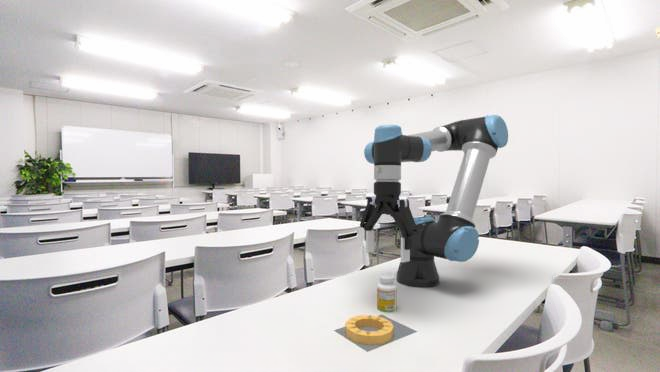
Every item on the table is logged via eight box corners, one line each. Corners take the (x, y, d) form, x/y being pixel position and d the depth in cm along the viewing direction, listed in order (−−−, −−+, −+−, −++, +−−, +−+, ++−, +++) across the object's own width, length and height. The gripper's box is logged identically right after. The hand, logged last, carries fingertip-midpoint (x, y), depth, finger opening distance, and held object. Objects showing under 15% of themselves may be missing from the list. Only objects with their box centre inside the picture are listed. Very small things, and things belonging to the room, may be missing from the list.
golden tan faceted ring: (336, 330, 78) (336, 322, 78) (370, 319, 85) (370, 311, 85) (367, 350, 69) (367, 340, 69) (402, 335, 76) (402, 327, 76)
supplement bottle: (383, 305, 95) (383, 272, 95) (400, 310, 92) (400, 276, 92) (373, 311, 91) (373, 276, 91) (390, 316, 88) (390, 280, 88)
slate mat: (333, 332, 78) (333, 330, 78) (381, 316, 88) (381, 314, 88) (367, 354, 69) (367, 351, 69) (417, 333, 78) (417, 331, 78)
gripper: (348, 180, 99) (348, 250, 99) (413, 181, 79) (412, 268, 79) (367, 181, 103) (366, 247, 104) (433, 181, 83) (432, 264, 83)
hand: (386, 256), depth 91 cm, fingers open, 13 cm apart
